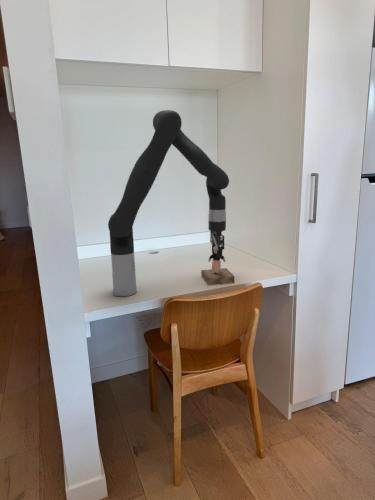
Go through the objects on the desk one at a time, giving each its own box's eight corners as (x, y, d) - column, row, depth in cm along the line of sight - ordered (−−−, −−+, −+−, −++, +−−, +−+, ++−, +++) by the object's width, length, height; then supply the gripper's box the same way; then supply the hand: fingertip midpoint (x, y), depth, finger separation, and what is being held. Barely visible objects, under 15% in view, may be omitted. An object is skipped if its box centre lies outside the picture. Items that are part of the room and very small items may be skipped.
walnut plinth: (207, 285, 149) (207, 278, 148) (201, 276, 160) (201, 270, 159) (234, 282, 151) (234, 276, 150) (226, 274, 162) (226, 268, 161)
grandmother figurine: (208, 274, 153) (208, 246, 150) (208, 271, 157) (207, 244, 153) (225, 274, 153) (225, 246, 149) (225, 271, 156) (225, 244, 153)
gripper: (204, 217, 155) (204, 252, 159) (213, 222, 141) (212, 260, 145) (220, 216, 156) (220, 251, 160) (230, 221, 142) (230, 259, 147)
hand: (216, 255), depth 153 cm, fingers open, 8 cm apart
